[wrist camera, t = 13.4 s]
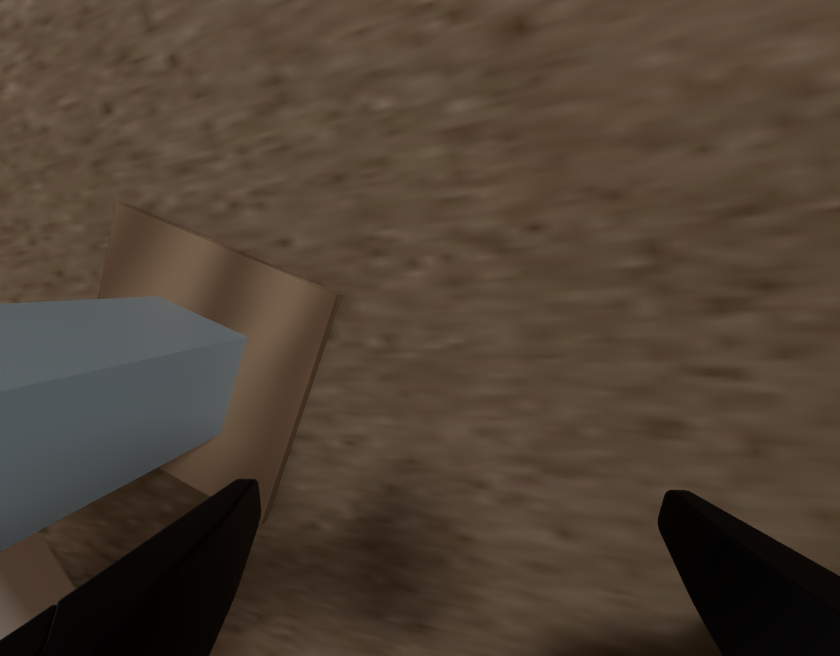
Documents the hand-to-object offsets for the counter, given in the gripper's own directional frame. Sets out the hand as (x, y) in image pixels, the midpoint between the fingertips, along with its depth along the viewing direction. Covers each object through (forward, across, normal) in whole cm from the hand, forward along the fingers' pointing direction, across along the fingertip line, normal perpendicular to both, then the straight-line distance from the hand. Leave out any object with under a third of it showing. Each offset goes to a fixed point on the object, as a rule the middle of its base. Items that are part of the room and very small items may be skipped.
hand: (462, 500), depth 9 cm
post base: (+14, +14, +3) cm, 20 cm away
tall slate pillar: (+13, +14, +3) cm, 19 cm away
